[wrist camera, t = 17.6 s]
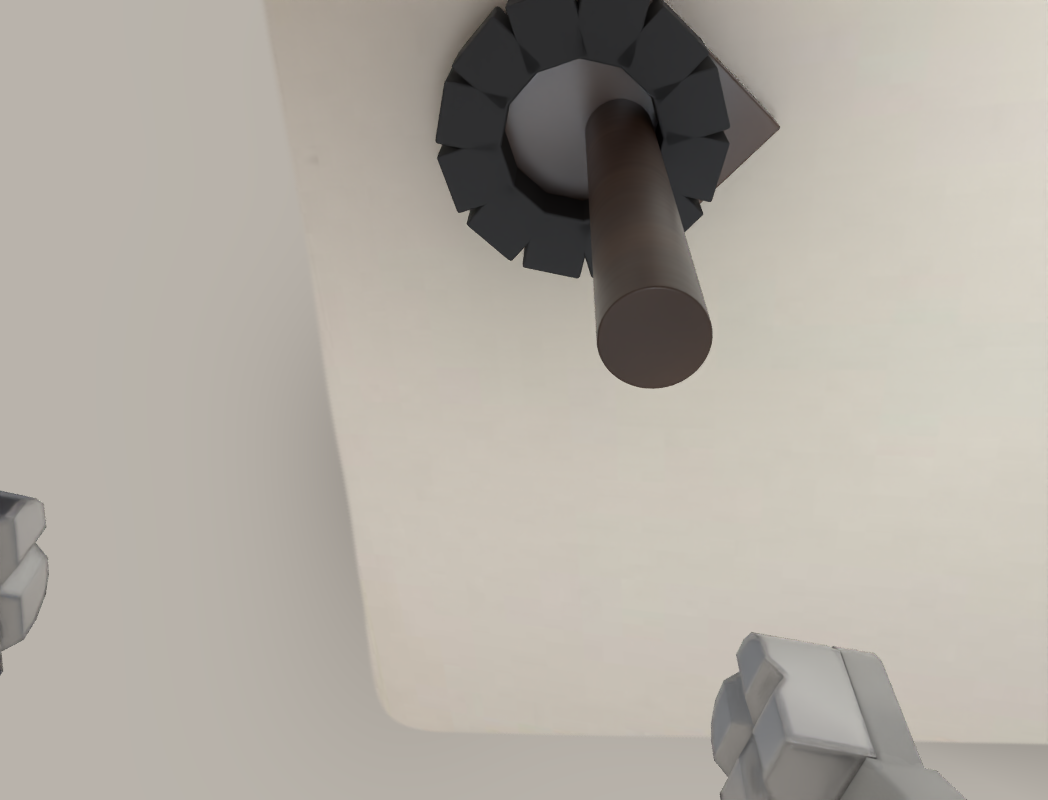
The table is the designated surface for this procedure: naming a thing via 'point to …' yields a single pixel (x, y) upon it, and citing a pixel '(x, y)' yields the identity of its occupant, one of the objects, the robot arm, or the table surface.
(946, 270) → the table surface
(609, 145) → the post
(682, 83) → the ring
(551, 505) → the table surface
